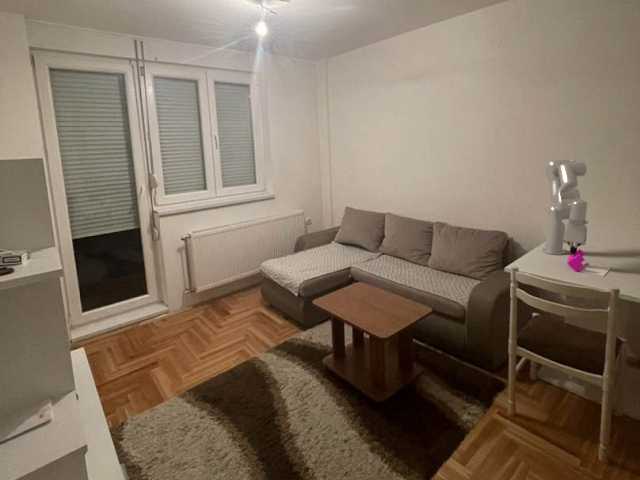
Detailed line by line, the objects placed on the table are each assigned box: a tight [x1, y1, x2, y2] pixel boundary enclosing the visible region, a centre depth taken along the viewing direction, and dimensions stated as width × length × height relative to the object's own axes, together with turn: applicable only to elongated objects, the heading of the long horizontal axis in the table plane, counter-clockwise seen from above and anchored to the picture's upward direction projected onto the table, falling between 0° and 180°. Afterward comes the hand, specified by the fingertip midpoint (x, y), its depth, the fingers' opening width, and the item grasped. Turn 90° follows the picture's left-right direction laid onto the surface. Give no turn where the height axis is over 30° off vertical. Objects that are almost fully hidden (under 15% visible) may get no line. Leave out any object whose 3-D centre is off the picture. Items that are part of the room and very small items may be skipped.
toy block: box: [566, 248, 586, 272], centre depth 215 cm, size 15×6×8 cm
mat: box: [577, 262, 612, 277], centre depth 211 cm, size 18×12×1 cm, turn 133°
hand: (573, 253), depth 217 cm, fingers closed
